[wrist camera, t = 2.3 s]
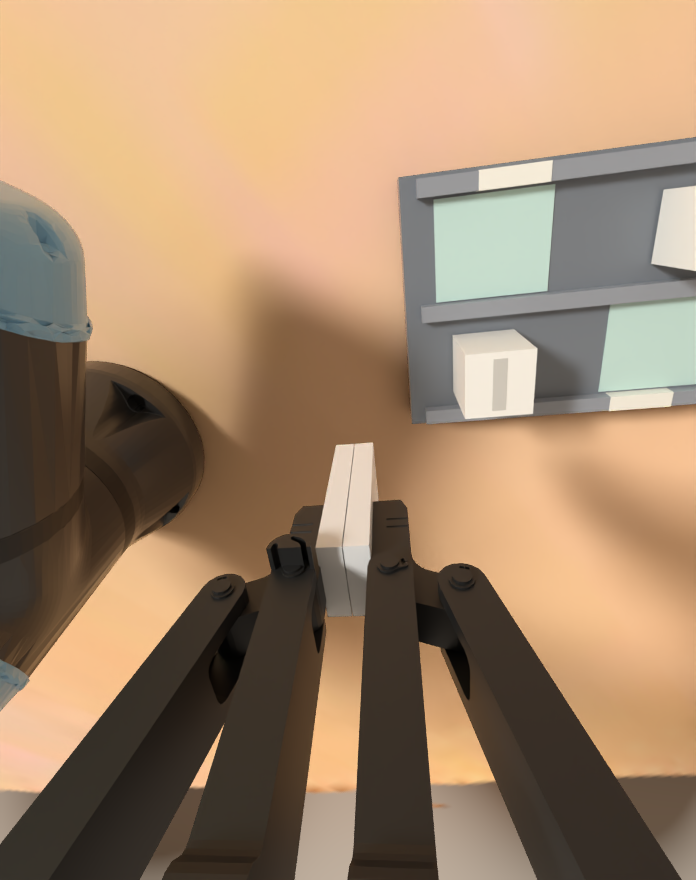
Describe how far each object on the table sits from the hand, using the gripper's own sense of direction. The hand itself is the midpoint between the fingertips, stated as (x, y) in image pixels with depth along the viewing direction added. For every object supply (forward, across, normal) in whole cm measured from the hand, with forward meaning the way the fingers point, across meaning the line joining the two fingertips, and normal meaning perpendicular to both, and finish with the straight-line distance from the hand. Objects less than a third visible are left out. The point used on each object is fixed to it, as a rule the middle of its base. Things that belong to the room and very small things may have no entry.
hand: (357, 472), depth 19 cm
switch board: (+16, +14, +4) cm, 22 cm away
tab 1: (+14, +8, 0) cm, 16 cm away
